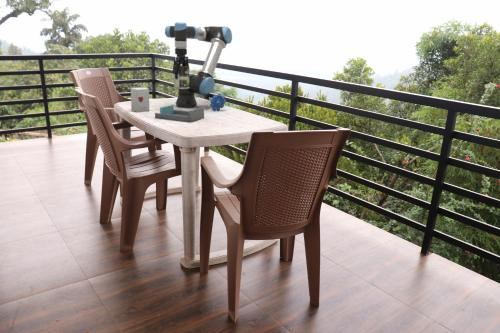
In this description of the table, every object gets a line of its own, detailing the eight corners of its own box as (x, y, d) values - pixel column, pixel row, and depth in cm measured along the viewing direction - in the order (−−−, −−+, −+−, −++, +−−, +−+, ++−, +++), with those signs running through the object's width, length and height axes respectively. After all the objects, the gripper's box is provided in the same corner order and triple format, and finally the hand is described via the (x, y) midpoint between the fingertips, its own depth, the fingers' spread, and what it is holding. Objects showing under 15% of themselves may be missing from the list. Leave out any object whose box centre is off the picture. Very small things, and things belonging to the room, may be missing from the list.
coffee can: (191, 87, 272) (191, 65, 268) (186, 89, 263) (186, 66, 258) (177, 86, 274) (176, 64, 270) (171, 88, 264) (170, 65, 260)
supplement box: (137, 112, 269) (136, 89, 265) (131, 110, 276) (130, 87, 271) (150, 111, 275) (149, 88, 270) (143, 109, 281) (142, 87, 277)
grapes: (223, 109, 291) (223, 92, 288) (226, 111, 285) (227, 93, 282) (207, 110, 287) (207, 92, 283) (210, 111, 281) (211, 94, 277)
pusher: (160, 116, 253) (159, 107, 251) (171, 113, 265) (171, 104, 263) (162, 117, 252) (162, 107, 250) (174, 113, 264) (173, 104, 262)
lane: (155, 118, 252) (154, 107, 250) (170, 114, 267) (169, 103, 265) (190, 122, 244) (190, 111, 242) (204, 117, 259) (204, 107, 257)
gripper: (184, 47, 272) (185, 81, 279) (166, 48, 252) (167, 84, 259) (194, 48, 269) (195, 82, 276) (176, 48, 249) (177, 85, 256)
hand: (181, 83), depth 267 cm, fingers closed on coffee can, 10 cm apart
